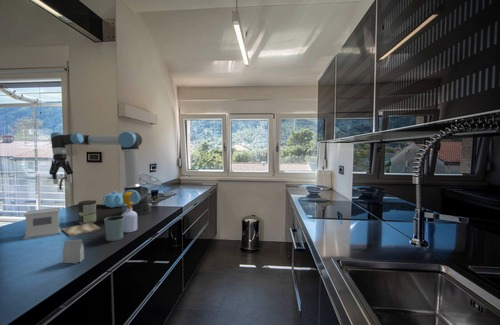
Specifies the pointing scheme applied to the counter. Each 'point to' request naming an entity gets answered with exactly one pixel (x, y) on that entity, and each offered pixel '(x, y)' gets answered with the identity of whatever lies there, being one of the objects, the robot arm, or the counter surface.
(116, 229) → the green tapered cup
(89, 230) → the pad
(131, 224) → the spray bottle
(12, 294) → the counter surface
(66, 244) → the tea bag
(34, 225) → the label unit
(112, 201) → the decorative pot
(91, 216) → the coffee can
